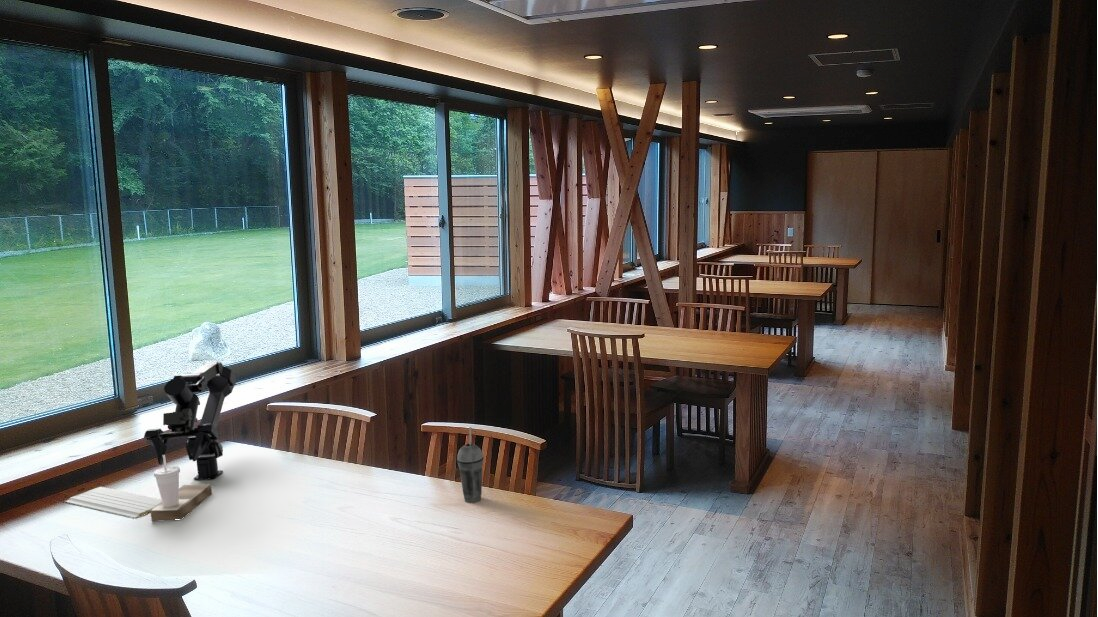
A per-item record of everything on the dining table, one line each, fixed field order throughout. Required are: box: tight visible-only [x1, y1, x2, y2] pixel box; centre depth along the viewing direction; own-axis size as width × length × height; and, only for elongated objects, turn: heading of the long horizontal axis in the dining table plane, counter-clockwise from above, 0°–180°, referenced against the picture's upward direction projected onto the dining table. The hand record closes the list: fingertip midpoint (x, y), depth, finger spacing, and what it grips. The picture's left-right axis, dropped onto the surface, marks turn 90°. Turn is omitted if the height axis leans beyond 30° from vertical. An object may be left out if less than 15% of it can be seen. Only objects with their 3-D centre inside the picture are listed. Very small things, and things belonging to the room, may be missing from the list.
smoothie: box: [153, 454, 181, 507], centre depth 208 cm, size 6×6×14 cm
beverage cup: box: [456, 426, 485, 504], centre depth 209 cm, size 7×7×20 cm
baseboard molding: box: [60, 483, 162, 519], centre depth 220 cm, size 31×3×12 cm
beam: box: [150, 483, 213, 522], centre depth 215 cm, size 18×8×3 cm, turn 179°
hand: (176, 462), depth 216 cm, fingers open, 9 cm apart
